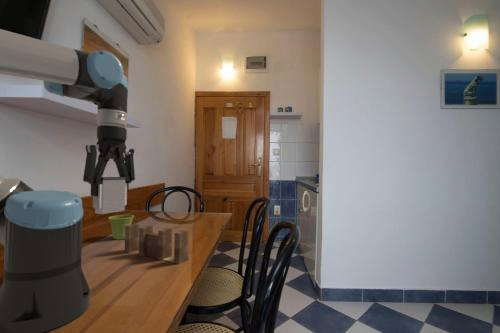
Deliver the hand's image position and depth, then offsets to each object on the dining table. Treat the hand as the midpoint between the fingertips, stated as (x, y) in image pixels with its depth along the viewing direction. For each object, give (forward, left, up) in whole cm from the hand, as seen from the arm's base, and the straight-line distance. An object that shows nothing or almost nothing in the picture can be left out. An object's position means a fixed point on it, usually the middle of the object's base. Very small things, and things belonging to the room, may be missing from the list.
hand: (110, 206), depth 72 cm
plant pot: (+23, +25, -18) cm, 38 cm away
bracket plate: (0, 0, -2) cm, 2 cm away
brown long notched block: (+13, -4, -18) cm, 22 cm away
